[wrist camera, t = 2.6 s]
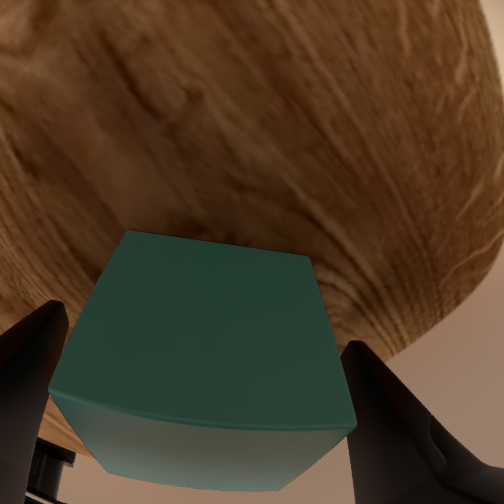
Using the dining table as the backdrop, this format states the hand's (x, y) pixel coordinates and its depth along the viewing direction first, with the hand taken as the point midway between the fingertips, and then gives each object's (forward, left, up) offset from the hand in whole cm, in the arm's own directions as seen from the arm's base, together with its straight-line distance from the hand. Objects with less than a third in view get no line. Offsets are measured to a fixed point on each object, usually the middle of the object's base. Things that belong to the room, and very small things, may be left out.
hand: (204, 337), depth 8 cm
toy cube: (0, 0, -1) cm, 1 cm away
